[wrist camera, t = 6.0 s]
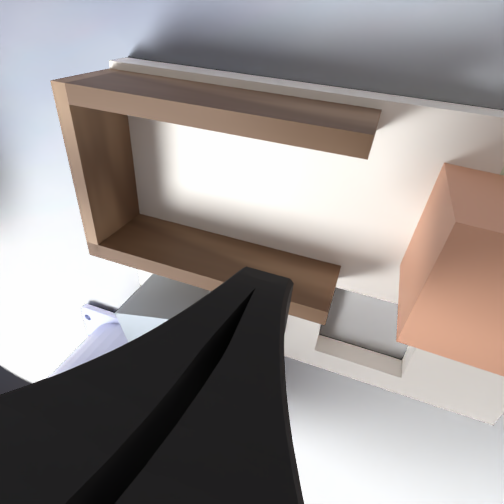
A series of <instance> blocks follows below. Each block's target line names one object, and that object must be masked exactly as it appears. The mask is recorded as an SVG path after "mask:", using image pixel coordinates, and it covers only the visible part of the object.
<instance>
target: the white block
mask: <svg viewBox="0 0 504 504" xmlns="http://www.w3.org/2000/svg"><path fill="white" fill-rule="evenodd" d="M210 292H211V291H209V290H206V289H202V288H199V287H196V286H192V285H189V284H186V283H182V282H179V281H176V280H172V279H169V278H166V277H163V276H159V275H156V274H152V275H151V276H150V277H149V278H148V279H147V280H146V281H145V282H144V283H143V284H142V285H141V286H140V287H139V289H138V290H137V291H136V292H135V293H134V294H133V295H132V296H131V297H130V298H129V299H128V300H127V301H126V302H125V303H124V304H123V305H122V306H121V307H120V308H119V309H118V310H117V311H116V312H115V315H116V317H117V319H118V321H119V323H120V325H121V327H122V330H123V332H124V334H125V336H126V338H127V340H128V342H130V341H132V340H134V339H136V338H138V337H140V336H142V335H143V334H145V333H147V332H149V331H150V330H152V329H154V328H156V327H157V326H159V325H161V324H162V323H164V322H166V321H167V320H169V319H170V318H172V317H174V316H175V315H177V314H179V313H180V312H182V311H183V310H185V309H186V308H188V307H189V306H191V305H192V304H194V303H195V302H197V301H198V300H200V299H201V298H203V297H204V296H205V295H207V294H208V293H210Z"/></svg>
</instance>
